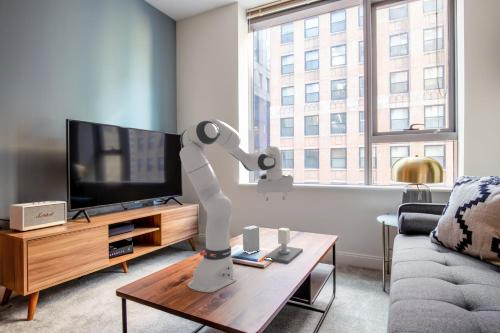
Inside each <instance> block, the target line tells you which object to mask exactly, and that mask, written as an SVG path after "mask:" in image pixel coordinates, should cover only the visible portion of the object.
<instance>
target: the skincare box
mask: <svg viewBox="0 0 500 333" xmlns="http://www.w3.org/2000/svg"><path fill="white" fill-rule="evenodd" d="M243 250H244V251H247V252H253V251H258V250H259V251H260V227H259V226H256V225H250V226H245V227H242V251H243Z"/></svg>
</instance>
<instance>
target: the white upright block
mask: <svg viewBox="0 0 500 333" xmlns="http://www.w3.org/2000/svg"><path fill="white" fill-rule="evenodd" d="M277 243H278V244H279V245H280V244H285V245H288V244H289V243H291V229H290V228H288V227H287V228H286V227H280V228H279V229H277Z"/></svg>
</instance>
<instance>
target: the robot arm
mask: <svg viewBox="0 0 500 333" xmlns="http://www.w3.org/2000/svg"><path fill="white" fill-rule="evenodd" d="M179 141H180V142H179V143H180V144H181V145H180V146H181V150H180V151H179V157H180V161H181V163H182V167H183V169H184V170H185V173H186V175H187V177H188V179H189V181H190V182H191V185H192V187H193V188H194V190H195V193H196V194H197V197H198V199H199V200H200V203H201V205H202V207H203V209H204V211H206V214H207V216H206V217H207V218H206V226H205V247H204V250H200V251H199V256H202V259H201V260H200V262H199V263H198V264H197V266H196V267H195V269H194V271H193V275H192V277H193V278H191V280H190V281H189V282H187V287H188V288H189V289H192V290H193V291H198V292H201V293H214V292H216V291H218V290H221V289H223V288H225V287H227V286H228V285H231V284H233V283H236V281H237V278H236V277H235V272H234V271H235V270H234V269H235V268H234V263H233V259H232V257H231V255H232V246H231V232H230V231H231V224H232V217H233V216H232V215H233V212H234V205H233V202H232V201H231V199H230V198H229V197H228V196H227V195H225V194H224V192H223V191H222V189H221V186H220V184H219V181H218V177H217V176H216V173H215V172H214V169H213V168H212V165H211V163H210V162H209V160H208V158H207V156H206V154H205V148H206V147H208V146H210V145H212V144H214V143H215V144H216V145H217V146H219V147H221V148H222V149H224V150H226V152H227V153H229V154H230V155H231V156H232V157H234V158H235V159H237V160H238V161H239V162H240V164H241V165H242V166H243V167H244V169H245V170H246V171H249V172H254V171H255V172H257V171H258V172H260V171H261V172H264V171H266V172H264V173H262V174H260V175H258V181H257V185H256V192H257V193H258V194H262V193H263V196H264V198H265V201H269V197H268V196H267V193H284V195H283V196H282V200H283V201H285V200H286V197H287V195H288V193H289V192H290V193H291V192H293V191H294V185H293V183H294V176H292V175H291V174H288V175H287V174H283V168H282V163H283V160H282V150H281V148H279V147H278V146H273V145H272V146H271V145H270V146H267V147H266V148H265V149H264V150H262V151H261V152H258V153H257V152H256V153H251V152H247V151H246V150H245V149H244V148H242V147H241V146H240V144H241V134H240V133H239V132H238V131H237V130H236V129H234V128H233V127H232V126H230V124H228V123H226V122H225V121H222V120H220V119H218V118H210V119H209V120H202V121H200V122H198V123H196V124H192V125H191V126H190V127H188V128H187V129H185V130H183V132H182V133H181V135H180V137H179Z"/></svg>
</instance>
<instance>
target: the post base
mask: <svg viewBox="0 0 500 333" xmlns="http://www.w3.org/2000/svg"><path fill="white" fill-rule="evenodd" d="M287 245H288V244H287ZM287 245H285V244H281V245H279V246H278V247H276V248H275V249H273V250H271V251H270V252H269V253H267V254H266V255H264V257H266V258H271V259H272V260H273V261H272V262H277V263H282V264H290V263H291V262H292V261H294V260H295V259H296V258H297V257H298V256H299V255H300V254H301V253H302V252H304V250H303V248H299V247H292V246H287ZM264 257H263V258H264Z"/></svg>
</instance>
